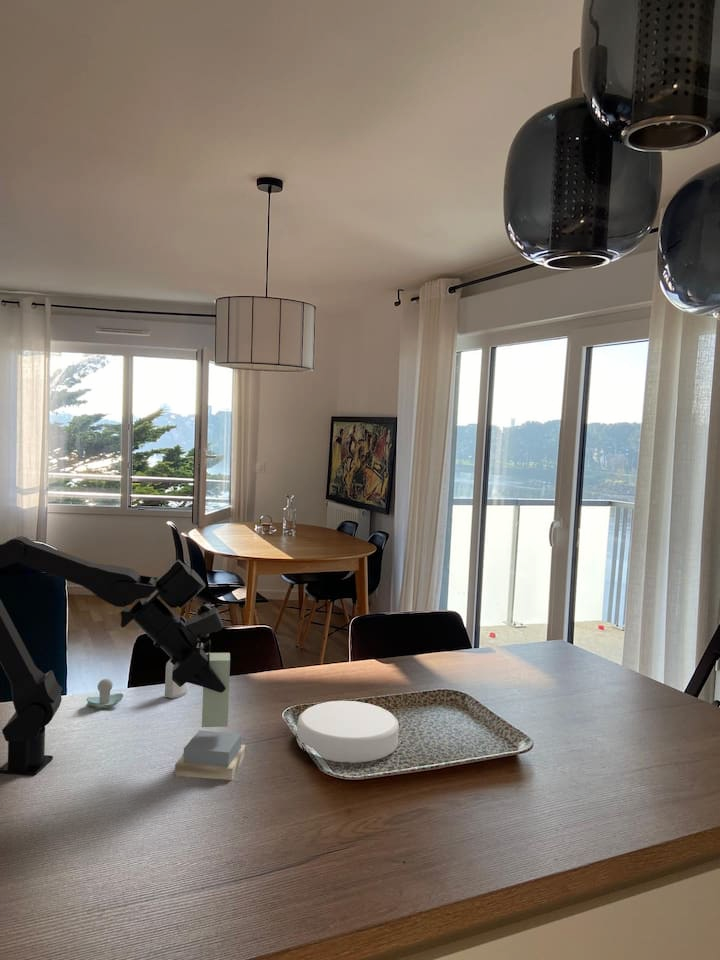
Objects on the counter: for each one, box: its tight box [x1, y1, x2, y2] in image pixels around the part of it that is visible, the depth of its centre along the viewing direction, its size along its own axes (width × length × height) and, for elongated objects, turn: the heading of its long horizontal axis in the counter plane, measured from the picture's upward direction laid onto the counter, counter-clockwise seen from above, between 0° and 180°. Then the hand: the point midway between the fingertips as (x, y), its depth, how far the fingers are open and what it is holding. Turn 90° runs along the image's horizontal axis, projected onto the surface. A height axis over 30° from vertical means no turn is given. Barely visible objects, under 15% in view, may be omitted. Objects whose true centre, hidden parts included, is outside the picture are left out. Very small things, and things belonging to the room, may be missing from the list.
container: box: [296, 700, 400, 763], centre depth 142 cm, size 20×20×5 cm
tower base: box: [174, 743, 247, 781], centre depth 128 cm, size 10×10×2 cm
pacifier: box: [86, 678, 124, 710], centre depth 153 cm, size 7×6×6 cm
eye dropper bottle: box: [164, 659, 189, 699], centre depth 161 cm, size 4×6×12 cm
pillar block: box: [201, 652, 231, 728], centre depth 130 cm, size 4×4×12 cm
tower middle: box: [183, 729, 242, 767], centre depth 128 cm, size 8×8×2 cm
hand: (223, 686), depth 130 cm, fingers closed on pillar block, 4 cm apart
